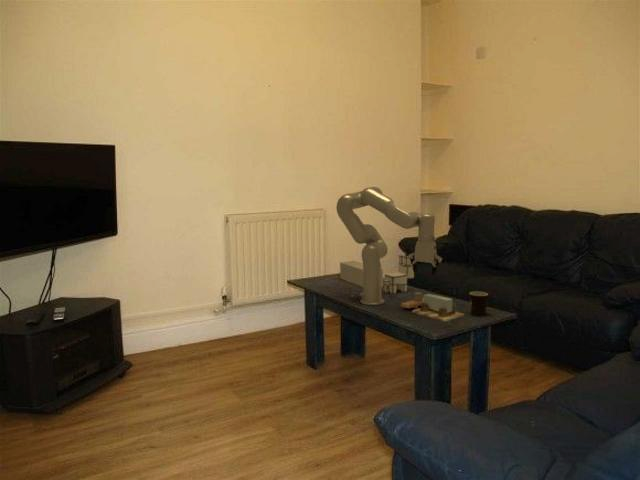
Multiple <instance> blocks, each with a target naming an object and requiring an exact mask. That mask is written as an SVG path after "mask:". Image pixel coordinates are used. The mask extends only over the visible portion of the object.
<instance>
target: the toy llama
mask: <svg viewBox="0 0 640 480" xmlns="http://www.w3.org/2000/svg"><path fill="white" fill-rule="evenodd" d="M414 278H415V272H413V264H412V262H411V261H410V259H409V256H408V255H405V254H404V255H403V254H400V255H398V272H393V273H387V274H386V273H385V274H384V279H383V286H384V292H385V293H389V294H390V295H397V292H399V291H400V292H401V293H403V294H404V293H407V292H408V280H409V279H414Z"/></svg>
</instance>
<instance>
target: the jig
mask: <svg viewBox="0 0 640 480" xmlns="http://www.w3.org/2000/svg"><path fill="white" fill-rule="evenodd" d="M411 313H413V314H417V315H420V316H424V317H427V318H432V319H435V320H438V321H440V322H441V321H442V322H445V323H446V322H449V321H452V320H455V319H458V318H461V317H465V313H464V312H463V313H462V312H458V311H457V310H456V306H454V305H452V311H451V312H448V313H446V309H444V308H439V311H438V310H434V309H430V308H428V304H425V303H421V305H420V308H419V307H418V309H415V308H414V309H413V310H412V312H411Z"/></svg>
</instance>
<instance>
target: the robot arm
mask: <svg viewBox="0 0 640 480" xmlns="http://www.w3.org/2000/svg"><path fill="white" fill-rule="evenodd" d="M366 206H369V207H371V208H373V209H375V210H377V211H378V212H380V213H381V214H383V215H384V216H385V217H386V218H387V219H388V220H389V221H390V222H392V223H394V224H395V225H396V226H399V227H401V228H403V229H406V230H410V229H413V228H418V229H417V231H418V233H417V234H418V236H417V241H416V244H415V248H414V252H412V253H410V254H408V255H407V256H409V259H410V261H411V264H412V265H413V272H414V273H416V272H418V262H421V263H430V264H431V265H432V267H431V268H432V269H431V275H432V276H435V275H436V274H437V271H438V270H437V268H438V266H439V265H440V264H441V263H442V261H443V258H442V257H441V256H439V255H438V254H437V245H436V242H435V241H437V237H435V223H436V221H435V219H436V218H435V217H436V216H435V215H434V214H432V213H420V212H416V211H412V212H406V211H404V210H402V209H400V208H398V207H397V206H396V204H395V203H394V199H392V198H391V197H389V196H387V195H386V194H383V190H382V189H380V187H377V186H369V187H365V188H364V189H362V190H360V191H357V192H352V193H346V194H343V195H341V196H340V197H339V198H338V199H337V202H336V207H335V208H336V214H337V216H338V218H339V219H340V221H341V222H342V223H343V225H344V226H345V228H346V230H347V231H348V233H349V234H350V235H351V238H352V239H353V240H354V242H355V243H356V244H359V245H362V244H363V245H364V244H365V245H364V246H363V248H362V250H361V261H362V263H363V287H362V288H363V291H361V293H359V296H360V297H361V299H360V303H361V304H362V305H364V306H365V305H366V306H380V305H384V304H385V303H386V301H385V299H384V298H382V287H381V269H382V264H381V263H382V262H381V259H383V258H384V257H386V256H387V254H388V252H389V251H388V249H389V248H388V245H387V244H386V242H385V240H384V238H382V237H383V236H381V234H380V233H379V231H378V230H377V228H375V226H373V225H372V224H370V223H366V224H365V223H363V221H362V220H361V218H360V217H359V216H358V214H356V213H355V211H354V210H355V209H360V208H364V207H366ZM413 256H414V257H413ZM436 261H437V262H436Z"/></svg>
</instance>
